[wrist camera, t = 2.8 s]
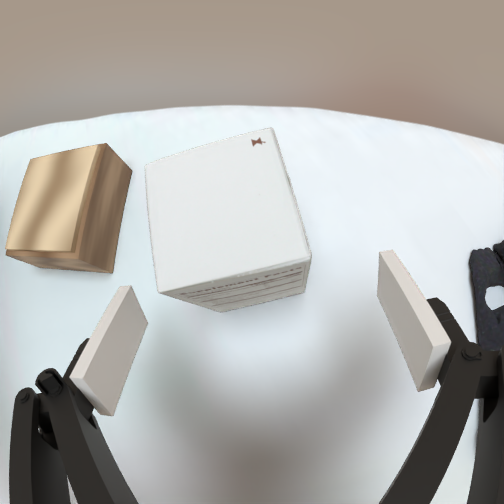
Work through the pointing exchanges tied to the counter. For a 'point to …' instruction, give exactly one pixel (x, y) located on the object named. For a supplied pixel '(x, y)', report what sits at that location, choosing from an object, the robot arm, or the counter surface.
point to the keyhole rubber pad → (485, 275)
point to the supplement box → (226, 224)
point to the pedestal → (70, 210)
